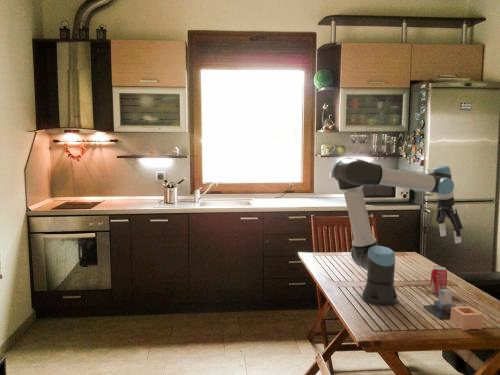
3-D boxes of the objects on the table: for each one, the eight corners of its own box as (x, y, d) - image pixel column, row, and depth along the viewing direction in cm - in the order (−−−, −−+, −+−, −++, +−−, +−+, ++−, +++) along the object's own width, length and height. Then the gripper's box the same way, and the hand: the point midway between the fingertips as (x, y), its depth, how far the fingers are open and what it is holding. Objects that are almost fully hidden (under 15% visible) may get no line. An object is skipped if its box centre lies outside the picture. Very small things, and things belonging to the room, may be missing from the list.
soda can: (433, 288, 213) (435, 264, 212) (448, 292, 208) (450, 268, 207) (427, 292, 208) (428, 267, 207) (442, 296, 203) (444, 271, 202)
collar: (462, 330, 167) (463, 315, 166) (450, 321, 175) (451, 307, 174) (481, 329, 168) (482, 314, 167) (468, 320, 176) (469, 306, 175)
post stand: (438, 318, 177) (440, 296, 176) (423, 307, 189) (424, 286, 188) (466, 317, 179) (467, 295, 178) (449, 306, 191) (450, 285, 190)
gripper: (467, 200, 201) (472, 244, 204) (439, 192, 226) (444, 231, 229) (452, 203, 201) (457, 247, 204) (425, 195, 225) (430, 234, 228)
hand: (450, 239), depth 216 cm, fingers open, 13 cm apart
